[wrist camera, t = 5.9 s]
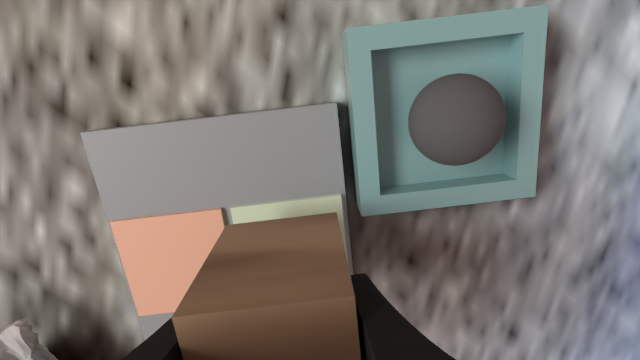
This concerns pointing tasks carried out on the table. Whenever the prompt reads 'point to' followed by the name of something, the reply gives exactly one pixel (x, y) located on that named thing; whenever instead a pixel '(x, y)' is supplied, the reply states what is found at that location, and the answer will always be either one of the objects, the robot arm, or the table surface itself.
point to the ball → (457, 119)
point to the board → (209, 190)
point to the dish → (417, 72)
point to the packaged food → (22, 343)
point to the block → (272, 295)
